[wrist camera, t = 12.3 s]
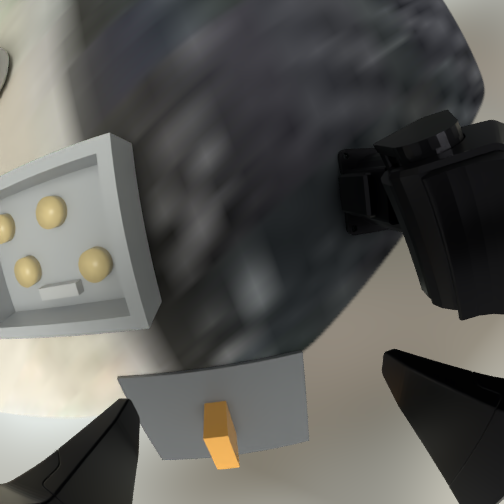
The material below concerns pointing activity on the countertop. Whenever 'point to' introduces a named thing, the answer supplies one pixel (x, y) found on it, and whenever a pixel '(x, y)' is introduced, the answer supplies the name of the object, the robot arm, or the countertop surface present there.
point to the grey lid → (223, 408)
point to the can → (3, 66)
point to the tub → (75, 245)
